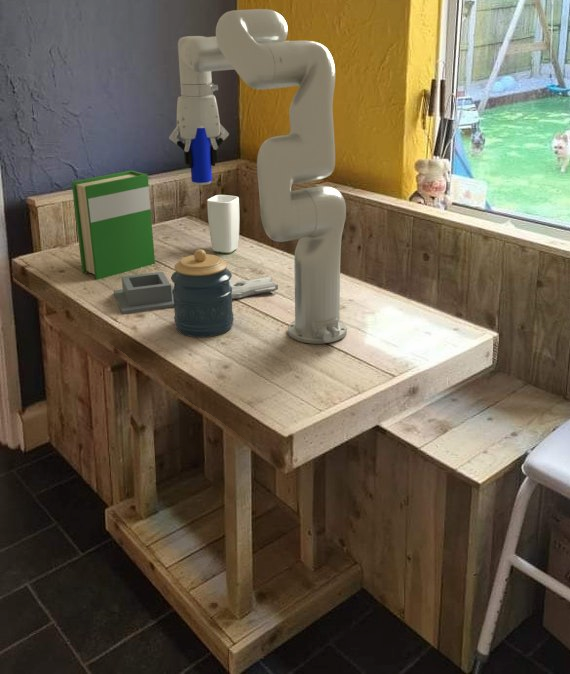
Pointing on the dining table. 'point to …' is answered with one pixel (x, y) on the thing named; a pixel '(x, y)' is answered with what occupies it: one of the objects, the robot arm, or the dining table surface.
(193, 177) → the beverage can
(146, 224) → the hardback book
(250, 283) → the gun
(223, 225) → the cup
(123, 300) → the holder
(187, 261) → the canister
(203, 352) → the dining table surface
